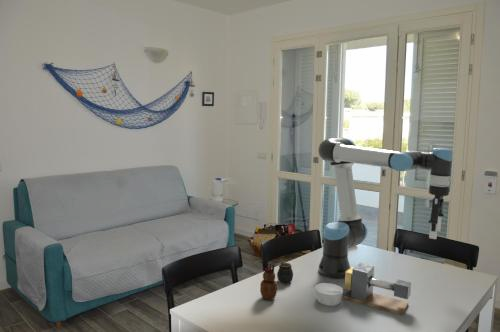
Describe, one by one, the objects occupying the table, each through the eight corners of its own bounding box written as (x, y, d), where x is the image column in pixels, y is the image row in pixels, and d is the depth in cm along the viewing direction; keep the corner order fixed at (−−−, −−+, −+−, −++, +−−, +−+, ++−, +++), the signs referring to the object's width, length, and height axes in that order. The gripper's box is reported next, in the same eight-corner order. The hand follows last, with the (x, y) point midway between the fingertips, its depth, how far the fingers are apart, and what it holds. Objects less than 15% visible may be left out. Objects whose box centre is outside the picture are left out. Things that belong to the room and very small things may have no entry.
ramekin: (326, 309, 151) (326, 296, 150) (308, 298, 161) (309, 285, 160) (348, 304, 156) (349, 291, 155) (330, 292, 166) (331, 281, 165)
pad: (339, 294, 162) (339, 293, 161) (346, 286, 169) (346, 286, 169) (351, 297, 159) (351, 296, 159) (358, 289, 166) (358, 289, 166)
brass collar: (344, 288, 161) (345, 272, 160) (350, 282, 167) (351, 267, 166) (350, 290, 160) (351, 273, 159) (356, 284, 165) (357, 268, 165)
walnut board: (336, 296, 162) (336, 294, 162) (345, 288, 170) (345, 285, 170) (402, 315, 147) (402, 312, 147) (408, 305, 156) (408, 302, 155)
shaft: (343, 283, 162) (344, 271, 162) (348, 279, 166) (348, 268, 166) (407, 299, 148) (408, 286, 148) (410, 294, 152) (411, 282, 152)
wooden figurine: (278, 296, 161) (279, 261, 159) (274, 302, 156) (275, 266, 154) (262, 294, 163) (263, 259, 161) (258, 299, 158) (259, 263, 156)
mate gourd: (285, 286, 171) (285, 264, 170) (273, 281, 177) (273, 259, 176) (296, 282, 176) (296, 260, 175) (284, 277, 182) (284, 256, 181)
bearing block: (351, 297, 159) (352, 269, 157) (358, 289, 166) (359, 263, 165) (365, 301, 155) (367, 272, 154) (372, 293, 163) (374, 266, 161)
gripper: (446, 190, 151) (441, 243, 154) (452, 182, 172) (447, 229, 175) (425, 188, 155) (420, 240, 158) (433, 180, 176) (429, 226, 179)
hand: (434, 234), depth 166 cm, fingers open, 13 cm apart
